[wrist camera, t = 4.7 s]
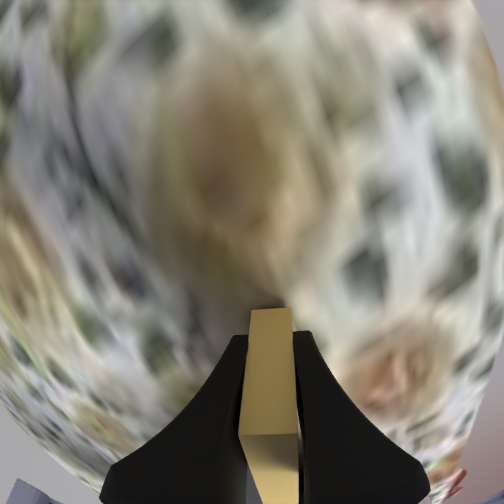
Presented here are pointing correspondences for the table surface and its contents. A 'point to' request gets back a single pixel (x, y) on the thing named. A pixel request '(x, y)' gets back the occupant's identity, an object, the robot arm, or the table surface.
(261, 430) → the yellow rectangular block
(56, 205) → the table surface
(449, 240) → the table surface
